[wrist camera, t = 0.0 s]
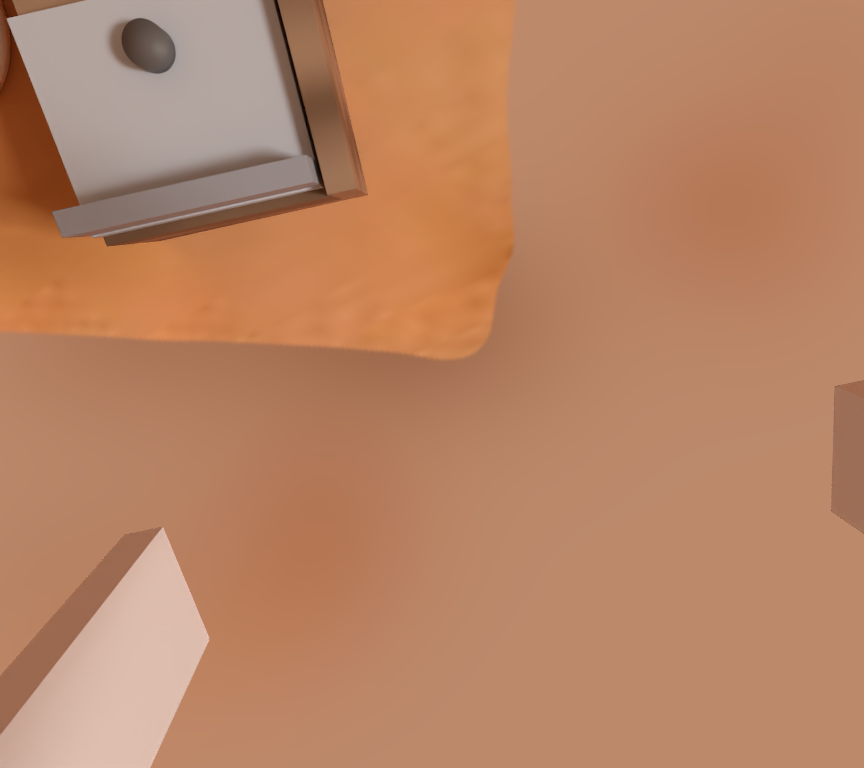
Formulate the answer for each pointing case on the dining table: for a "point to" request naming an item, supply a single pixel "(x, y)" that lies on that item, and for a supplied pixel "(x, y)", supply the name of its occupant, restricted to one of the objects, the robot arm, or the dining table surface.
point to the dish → (4, 45)
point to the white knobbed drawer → (167, 108)
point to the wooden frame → (324, 115)
